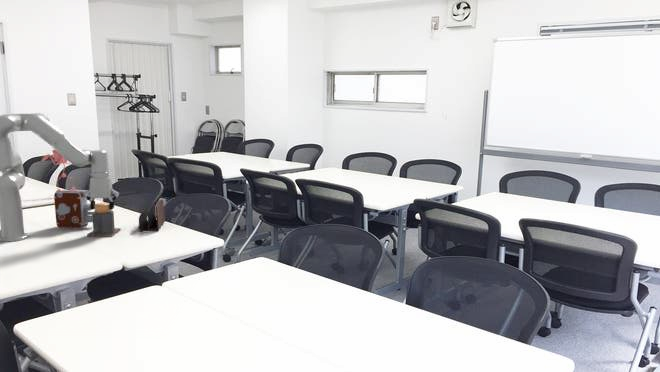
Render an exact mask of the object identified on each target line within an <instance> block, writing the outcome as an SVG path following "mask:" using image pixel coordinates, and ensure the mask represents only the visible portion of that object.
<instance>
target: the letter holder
mask: <svg viewBox="0 0 660 372" xmlns="http://www.w3.org/2000/svg"><path fill="white" fill-rule="evenodd" d="M164 206H165V205H164V200H163V199H159V200H158V202H157V203H156V204H152V205H151V207H149V209H143V210H142V211H141V212H140V215H139V216H138V232H140V233H142V232H143V231H150V232H159V231H160V230H161V228H162V227H163V226H164V224H165V223H166V219H165V207H164ZM164 222H165V223H164ZM163 223H164V224H163ZM161 226H162V227H161ZM159 229H160V230H159ZM143 233H144V232H143Z"/></svg>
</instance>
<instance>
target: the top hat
mask: <svg viewBox="0 0 660 372" xmlns="http://www.w3.org/2000/svg"><path fill="white" fill-rule="evenodd" d="M91 212H92V218H93V222H92V229H93V230H92V231H90V232H89V233H87V234H86V236H87V238H96V237H97V238H100V237H101V238H106V237H107V238H108V237H109V238H112V237H114V236H115V235H116V234H118V233H120V231H121V227H120V228H119V227H118V228H117V227H116V226H115V215H114V213H115V212H114V211H113V209H112V210H111V212H110V213H105V214H96V213H95V210H94V211H91Z"/></svg>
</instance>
